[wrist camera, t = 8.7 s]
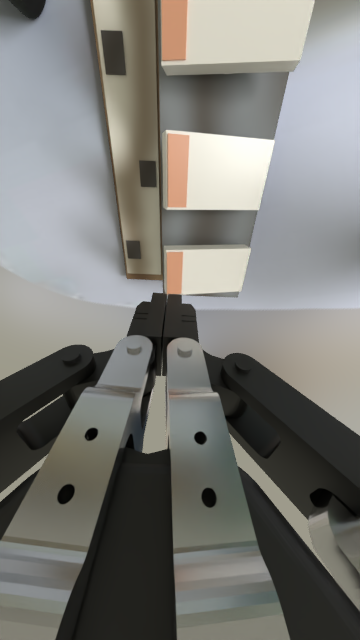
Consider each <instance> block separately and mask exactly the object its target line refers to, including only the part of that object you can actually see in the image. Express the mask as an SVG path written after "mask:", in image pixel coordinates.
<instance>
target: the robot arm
mask: <svg viewBox="0 0 360 640" xmlns="http://www.w3.org/2000/svg"><path fill="white" fill-rule="evenodd" d="M162 360H163V367H162ZM161 369H162V375H163V376H166V390H165V399H166V400H165V401H166V450H162V451H158V452H155V453H150V454H145V453H142V450H143V439H144V433H145V428H146V422H147V419H148V414H149V410H150V405H151V400H152V395H153V387H154V385H155V378H156V376H161ZM62 394H63V396H62V397H60V398H59V399H57V400H56V401H54V402H53V403H51V404H50V405H48V406H47V407H45V408H44V409H43V410H41V411H40V412H38V413H37V414H35V415H34V416H32V417H31V418H29V419H28V420H26V421H23V420H24V419H26V418H27V417H29V416H30V415H32V414H33V413H35V412H36V411H38V410H39V409H40V408H42V407H44V406H45V405H47V404H48V403H50V402H51V401H53V400H54V399H56V398H57V397H59V396H60V395H62ZM22 421H23V422H22ZM229 433H230V434H231V435H232V436H233V438H234V439H235V440H236V441H237V442H238V443H239V444H240V445H241V446H242V448H243V449H244V450H245V451H246V452H247V453H248V454H249V455H250V456H251V457H252V458H253V460H254V461H255V462H256V463H257V464H258V465H259V466H260V467H261V468H262V470H263V471H264V472H265V473H266V474H267V475H268V476H269V477H270V478H271V480H272V481H273V482H274V483H275V484H276V485H277V486H278V487H279V488H280V489H281V491H282V492H283V493H284V494H285V495H286V496H287V497H288V498H289V499H290V501H291V502H292V503H293V504H294V505H295V506H296V507H297V508H298V509H299V511H300V512H301V513H302V514H303V515H304V516H305V517H306V518H307V519H308V527H309V533H310V537H311V540H312V545H313V548H314V549H315V551H316V553H317V554H318V556H319V557H320V558H321V560H322V561H323V563H324V564H325V565H326V567H327V568H328V569H329V571H330V572H331V574H332V576H333V577H334V578H333V577H332V576H331V575H330V573H329V572H328V571H327V570H326V569H325V567H324V566H323V565H322V564H321V562H320V561H319V560H318V559H317V557H316V556H315V555H314V554H313V552H312V551H311V550H310V549H309V547H308V546H307V545H306V544H305V542H304V541H303V540H302V539H301V538H300V536H299V535H298V534H297V532H296V531H295V530H294V529H293V527H292V526H291V525H290V524H289V522H288V521H287V520H286V519H285V518H284V516H283V515H282V514H281V513H280V511H279V510H278V509H277V508H276V506H275V505H274V504H273V503H272V501H271V500H270V499H269V498H268V496H267V495H266V494H265V493H264V491H263V490H262V489H261V488H260V486H259V485H258V484H257V483H256V482H255V481H254V480H253V479H252V478H251V477H250V476H249V475H248V474H247V473H246V472H245V471H243V470H242V469H241V468H240V467H238V466H237V462H236V458H235V455H234V450H233V446H232V443H231V439H230V435H229ZM48 453H49V454H48ZM47 454H48V456H47V458H46V459H45V461H44V463H43V465H42V467H41V468H40V469H39V470H38V471H36V472H35V473H34V474H32V475H31V476H30V477H28V478H27V479H26V480H25V481H24V482H22V483H21V484H20V485H19V486H18V487H17V488H16V489H15V490H13V491H12V492H11V493H10V494H9V495H8V496H7V497H5V498H4V499H3V500H2V501H1V502H0V640H360V436H359V435H358V434H356V433H355V432H353V431H352V430H351V429H349V428H348V427H346V426H345V425H344V424H342V423H341V422H340V421H338V420H337V419H335V418H334V417H333V416H331V415H330V414H329V413H327V412H326V411H325V410H323V409H322V408H321V407H319V406H318V405H316V404H315V403H314V402H312V401H311V400H309V399H308V398H307V397H305V396H304V395H303V394H301V393H300V392H299V391H297V390H296V389H294V388H293V387H292V386H290V385H289V384H288V383H286V382H285V381H283V380H282V379H281V378H279V377H278V376H277V375H275V374H274V373H272V372H271V371H270V370H268V369H267V368H266V367H264V366H263V365H261V364H260V363H259V362H257V361H256V360H255V359H253V358H252V357H250V356H248V355H245V354H241V353H233V354H230V355H228V356H226V357H225V359H221V358H218V357H215V356H212V355H210V354H208V353H206V352H205V351H204V350H203V349H202V347H201V345H200V344H199V339H198V330H197V322H196V311H195V309H194V307H193V306H192V305H191V304H182V296H181V294H168V298H167V294H165V293H153V295H152V300H151V302H144V301H143V302H142V303H140V304H139V305H138V306H137V308H136V311H135V314H134V316H133V319H132V322H131V326H130V328H129V331H128V334H127V337H125V338H123V339H122V340H120V341H119V342H118V344H117V345H116V347H115V349H113V350H110V351H105V352H100V353H94V354H93V351H92V350H91V349H90V348H89V347H87V346H85V345H71V346H68V347H65V348H63V349H61V350H59V351H57V352H55V353H53V354H51V355H49V356H47V357H45V358H43V359H41V360H40V361H38V362H36V363H34V364H32V365H30V366H28V367H26V368H24V369H22V370H20V371H18V372H16V373H14V374H12V375H10V376H8V377H6V378H5V379H3V380H1V381H0V493H1V492H2V491H3V490H4V489H6V488H7V487H8V486H9V485H11V484H12V483H13V482H14V481H15V480H17V479H18V478H19V477H20V476H21V475H23V474H24V473H25V472H26V471H28V470H29V469H30V468H31V467H32V466H34V465H35V464H36V463H37V462H39V461H40V460H41V459H42V458H43V457H44V456H46V455H47ZM334 579H335V580H334Z"/></svg>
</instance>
